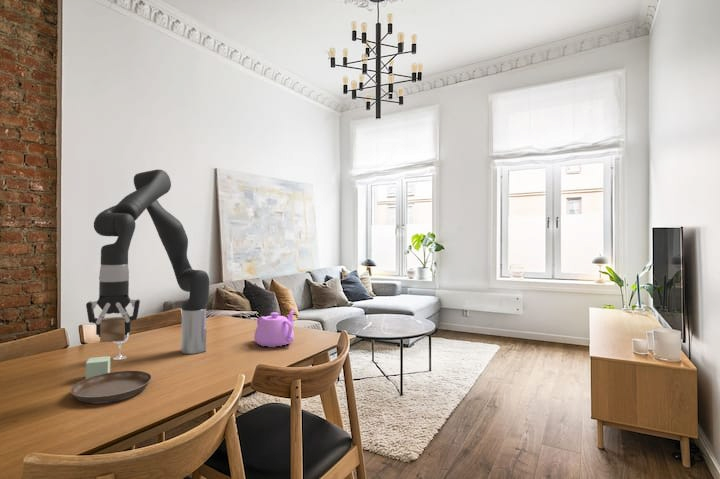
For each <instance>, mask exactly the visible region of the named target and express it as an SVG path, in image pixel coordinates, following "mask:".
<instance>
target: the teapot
mask: <svg viewBox="0 0 720 479" xmlns="http://www.w3.org/2000/svg"><path fill="white" fill-rule="evenodd" d="M295 311H296V309H292V310H291V311H290V312H289V313H288V315H287V317H286V316H284V315H279V312H270V315H267V316H263V315H262V316H260V317H258V318H257V320H256V323H257V327H256V328H255V330H254V337H253V338H254V341H255V342H256V343H257V345H258V344H259V346H260V345H261V346H260V347H264V346H268V347H267V348H273V347H274V346H280V347H283V346H282V345H285V346H287V345H286V344H288V345H290V343H293V341H294V338H295V332H294V329H293V328H294V319H293V318H294V314H295Z"/></svg>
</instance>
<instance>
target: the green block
mask: <svg viewBox="0 0 720 479" xmlns="http://www.w3.org/2000/svg"><path fill="white" fill-rule="evenodd" d="M105 373H111V356H110V355H109V356H106V355H105V356H99V357H98V356H97V357H96V356H95V357H89V358H88V359H87V361H86V362H85V379H88V378H90V377H94V376H97V375H101V374H105Z"/></svg>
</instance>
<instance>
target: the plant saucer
mask: <svg viewBox="0 0 720 479" xmlns="http://www.w3.org/2000/svg"><path fill="white" fill-rule="evenodd" d="M152 378H153V377H152V374H150V373H149V372H145V371H142V370H119V371H112V372H111V371H110V373H105V374H101V375H97V376H94V377H90V378H88V379H86V378H84V379H82V380H81V381H80V380H79V381H78V382H77V383H75V384H74V385H72V387H71V388H70V394H72V396H73V397H74V398H75V399H77V400H78V401H79V402H83V403H86V404H108V403H114V402H119V401H124V400H127V399H129V398H132V397H135V396H136V395H138V394H139V393H141V392H142V391H143V390H145V389H146V388H147V386H148V385H149V384H150V382H151V380H152Z"/></svg>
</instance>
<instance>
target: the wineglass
mask: <svg viewBox="0 0 720 479" xmlns="http://www.w3.org/2000/svg"><path fill="white" fill-rule="evenodd" d="M129 336H130V332H129V333H128V334H127V335H126V337H125V339H124V341H113V343H114V344H117V345H118V350H119V352H118V353H119V354H118V355H117V356H115V357H113V359H112V360H114V361H115V360H116V361H121V360H125V359H127V358H128V357H127V356H126V355H122V353H121V352H122V344H124V343H126V342H127V341H128V340H129Z"/></svg>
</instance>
